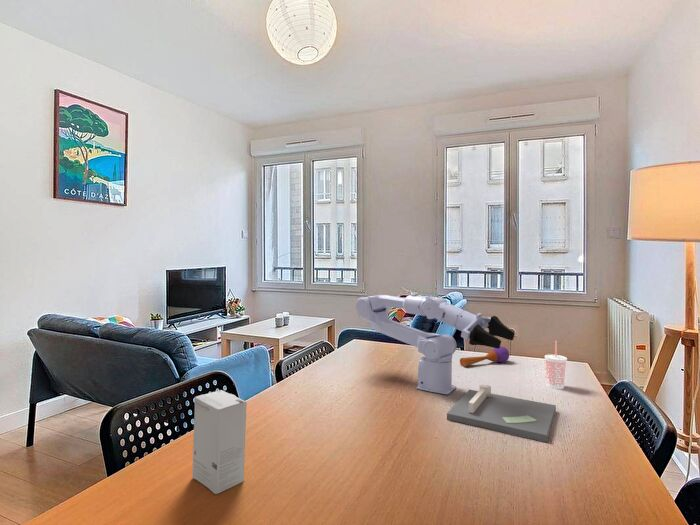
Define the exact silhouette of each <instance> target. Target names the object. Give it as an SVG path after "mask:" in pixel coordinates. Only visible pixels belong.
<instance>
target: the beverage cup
mask: <svg viewBox="0 0 700 525" xmlns="http://www.w3.org/2000/svg"><path fill="white" fill-rule="evenodd" d="M557 353H558V341H557V340H554V354H545V355H544V360H545V374H546V375H545V376H546V387H547V388H551V389H553V390H554V389H555V390H563V389H564V388H565V377H566V367H567V366H566V365H567V362H568V358H567V357H566V356H564V355H560V354H559V355H558V354H557Z"/></svg>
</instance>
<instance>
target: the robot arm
mask: <svg viewBox="0 0 700 525" xmlns="http://www.w3.org/2000/svg"><path fill="white" fill-rule="evenodd" d="M355 308H356V312H357V315H358V317H359V318H360V319H363V320H364V321H366V323H368V325H369V326H370V327H371V328H372V329H373V330H374V331H375V332H378V333H380V334H383V335H386V336H388V337H390V338H393V339H395V340H398V341H400V342H403V343H405V344H407V345H410V346H413V347H415V348H417V352H419V353H421V354H422V355H423V356H421V358H420V359H419V361H418V366H417V386H416V389H417V390H421V391H426V392H431V393H436V394H442V395H445V396H446V395H447V396H448V395H449V394H451V392H452V391H454V390H455V389H456V388H457V385H455V384H452V382H453V381H452V378H453V376H452V375H453V355H454V354H455V352H456V350H457V347H458V346H457V342H456V340H455V338H454V337H453V336H452V335H450V334H448V333H446V334H445V333H444V334H438V333H436V332H426V331H423V330H421V329H417V328H415V327H413V326H409V325H407V324H403V323H401V322H398V321H397V320H392V319H389V317H390V316H389V311H388V308H395V309H403V311H404V312H406V314H411V315H415V316H416V315H418V316H422V317H426V319H428V320H433V319H436V320H438V321H440V322H442V323H444V324H446V325H448V326H451V327H452V328H454V329H456V330H458V331H461V334H460V337H461V338H463V339H465V340H469V342H468V343H469V344H470V346H485V347H488V348H489V347H490V348H493V349H494V348H498V349H499V348H500V346H501V345H502V340H501V339H499V338H503V339H505V340H509V341H514V338H515V332H514V331H513V330H511V329H510V328H509V327H508V326H506V325H505V324H504V323H503V322H502V321H501V320H500V319H499V318H498V316H496V315H492V316H491V317H490V316H488V317H485V316H483V313H482V312H478V313H476V314H474V313H471V312H469V311H468V310H465V309H462V308H460V307H458V306H456V305H453V304H451V303H448V301H447V300H446V299H445V298H443V297H440V296H436V297H434V298H432V297H431V295H425V296H421V295H418V293H411V294H409V295H407V296H406V297H400V296H394V295H388V294H377V295H372V296H360V297H359V298H358V299H356V302H355ZM486 328H487V330H488V331H487V330H485V329H486Z"/></svg>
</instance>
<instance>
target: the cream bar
mask: <svg viewBox="0 0 700 525" xmlns="http://www.w3.org/2000/svg"><path fill="white" fill-rule="evenodd" d="M478 389H479V390H477V391H478V392H477V394H476V395H475V396H474V397H473V398H472V399H471V400H470V401H469V408H468V412H470V413H474V412H475V411H476V409H477V408H478V407H479V406H480V404H481V403H482V402H483V401H484V399H485V398H486V397H491V394H492V386H490V385H488V384H480V385H479V388H478Z"/></svg>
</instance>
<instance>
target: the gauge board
mask: <svg viewBox="0 0 700 525" xmlns="http://www.w3.org/2000/svg"><path fill="white" fill-rule="evenodd" d="M478 391H479V390H473V389H468V390H467V392H465V394H464V395H462V397H460V399H459V400H458V401H457V402H456V403H455V404H454V405H453V406H452V407H451V409H449V411H447V413H446V420H447V421H452V422H456V423H461V424H466V425H470V426H473V427H477V428H478V427H479V428H483V429H486V430H487V429H488V430H491V431H496V432H500V433H505V434H510V435H512V436H513V435H514V436H517V437H518V436H519V437H523V438H526V439H530V440H535V441H540V442H544V443H545V442H546V443H547V442H548V439H549V435H550V432H551V429H552V425H553V422H554V418H555V415H556V412H557V406H556V405H557V404H552V403H546V402H541V401H535V400H529V399H524V398H517V397H513V396H508V395H502V394H495V393H491V397H486V398H485V399H484V401H483V402H482V403H481V404H480V406H479V407H478V408H477V409H476V411H475V412H474V413H470V412H468V408H469V401H470V400H471V399H472V398H473V397H474V396H475V395H476V394H477V392H478Z"/></svg>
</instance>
